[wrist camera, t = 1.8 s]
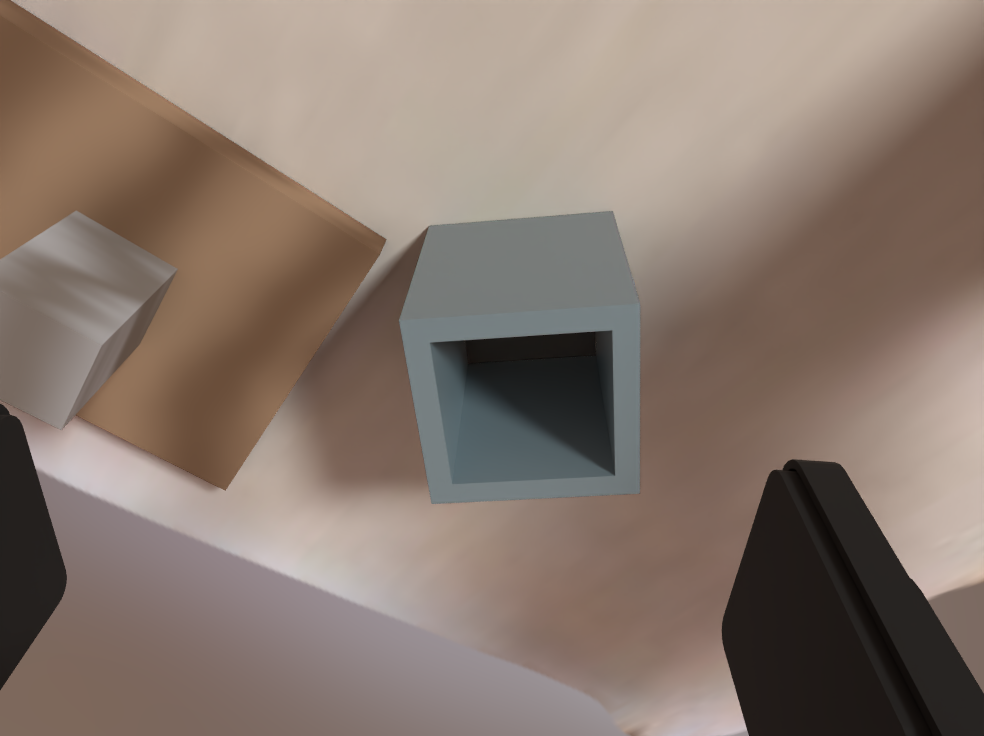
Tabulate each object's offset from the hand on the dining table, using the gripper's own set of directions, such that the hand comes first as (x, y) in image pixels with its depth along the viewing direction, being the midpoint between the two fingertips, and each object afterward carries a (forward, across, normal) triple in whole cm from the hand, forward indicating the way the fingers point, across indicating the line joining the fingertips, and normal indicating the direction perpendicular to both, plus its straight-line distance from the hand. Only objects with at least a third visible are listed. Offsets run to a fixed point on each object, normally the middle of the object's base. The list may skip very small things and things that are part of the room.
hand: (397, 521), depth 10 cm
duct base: (+21, +14, +6) cm, 25 cm away
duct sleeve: (+20, -2, +6) cm, 22 cm away
